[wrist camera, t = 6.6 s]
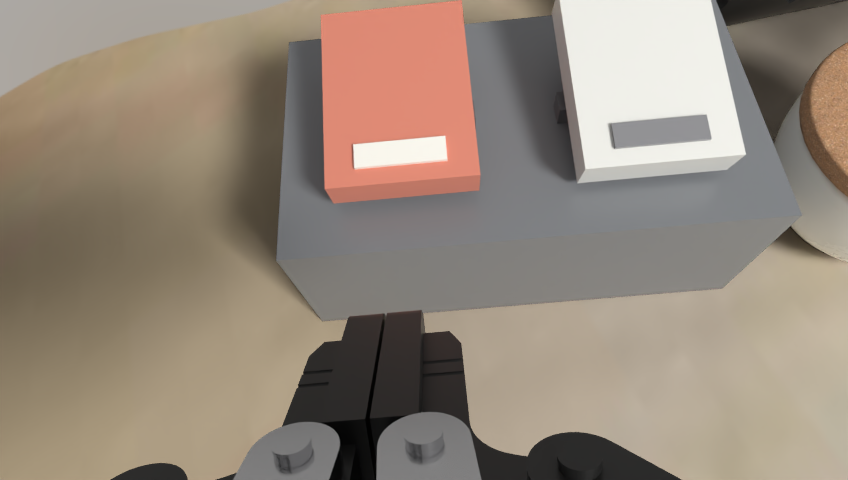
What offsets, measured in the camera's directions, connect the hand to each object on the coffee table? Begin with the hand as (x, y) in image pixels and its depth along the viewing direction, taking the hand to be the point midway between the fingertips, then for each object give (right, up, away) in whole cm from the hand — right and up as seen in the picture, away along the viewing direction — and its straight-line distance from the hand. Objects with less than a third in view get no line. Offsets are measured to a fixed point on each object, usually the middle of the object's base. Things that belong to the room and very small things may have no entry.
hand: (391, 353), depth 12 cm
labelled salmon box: (0, +8, +13) cm, 15 cm away
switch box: (+5, +4, +21) cm, 22 cm away
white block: (+10, +9, +12) cm, 18 cm away
